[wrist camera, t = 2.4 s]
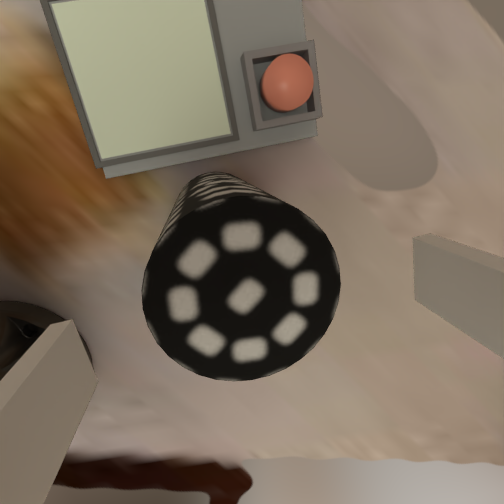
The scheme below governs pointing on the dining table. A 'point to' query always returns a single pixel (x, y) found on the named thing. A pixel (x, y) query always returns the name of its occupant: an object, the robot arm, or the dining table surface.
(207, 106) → the picture board
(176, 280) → the white-spotted black cylinder
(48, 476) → the robot arm
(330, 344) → the dining table surface
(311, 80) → the button
